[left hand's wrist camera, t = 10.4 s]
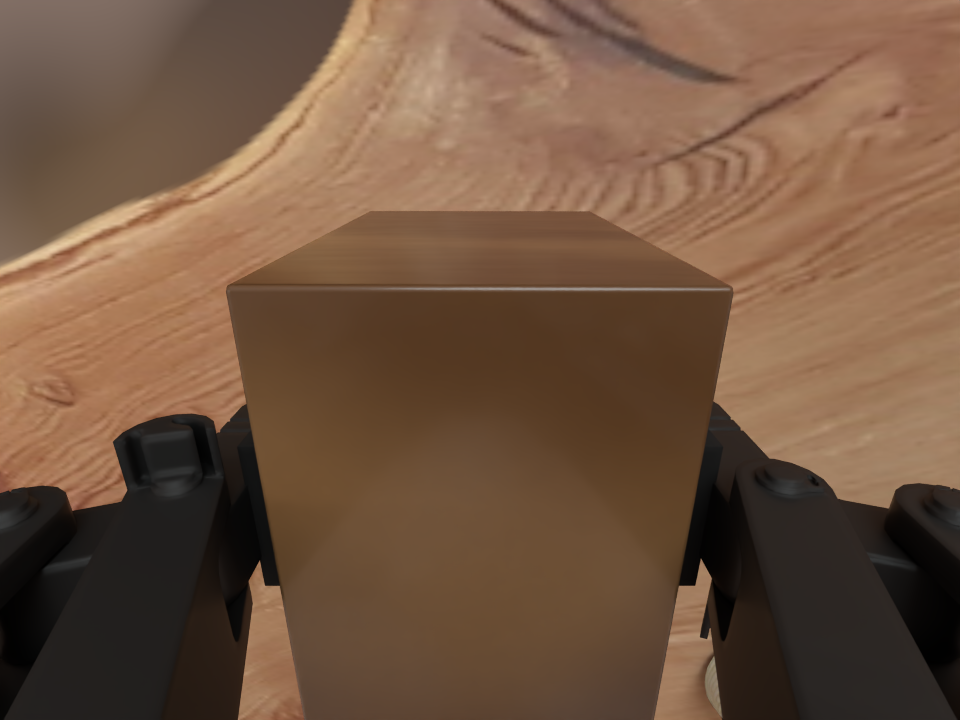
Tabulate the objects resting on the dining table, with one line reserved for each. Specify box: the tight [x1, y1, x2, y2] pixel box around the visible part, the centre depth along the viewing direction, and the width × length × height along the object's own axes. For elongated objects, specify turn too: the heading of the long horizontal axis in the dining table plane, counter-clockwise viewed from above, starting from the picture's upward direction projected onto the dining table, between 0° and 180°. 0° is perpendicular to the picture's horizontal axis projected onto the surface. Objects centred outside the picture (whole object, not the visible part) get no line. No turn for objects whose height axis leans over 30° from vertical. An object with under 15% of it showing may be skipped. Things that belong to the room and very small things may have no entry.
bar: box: [226, 211, 733, 720], centre depth 14 cm, size 23×6×8 cm, turn 0°
